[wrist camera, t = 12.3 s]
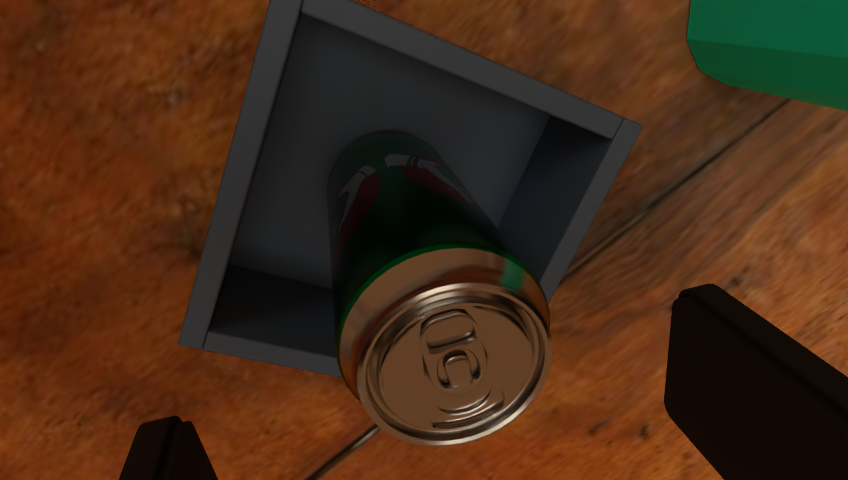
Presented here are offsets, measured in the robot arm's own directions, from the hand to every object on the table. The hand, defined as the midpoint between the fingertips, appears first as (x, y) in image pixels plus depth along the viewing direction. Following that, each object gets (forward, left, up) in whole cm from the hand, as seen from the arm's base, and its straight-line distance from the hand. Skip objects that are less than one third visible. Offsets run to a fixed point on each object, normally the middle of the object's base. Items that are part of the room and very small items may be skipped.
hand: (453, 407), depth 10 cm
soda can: (0, 0, -13) cm, 13 cm away
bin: (0, 0, -14) cm, 14 cm away
